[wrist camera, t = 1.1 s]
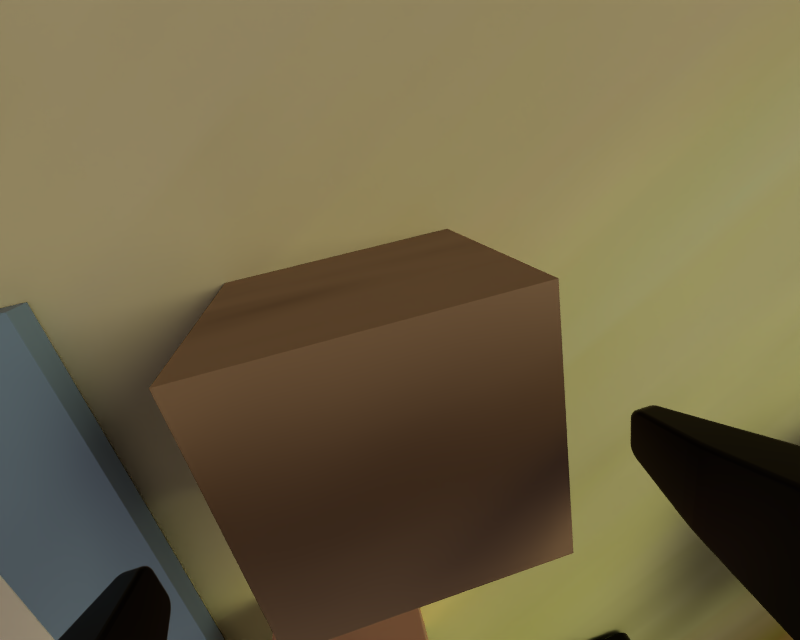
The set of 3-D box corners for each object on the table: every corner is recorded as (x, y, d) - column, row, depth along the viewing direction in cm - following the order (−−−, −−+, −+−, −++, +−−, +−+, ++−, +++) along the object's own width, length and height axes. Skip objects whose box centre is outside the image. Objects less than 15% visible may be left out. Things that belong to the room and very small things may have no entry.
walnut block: (474, 408, 15) (573, 552, 9) (294, 462, 14) (284, 655, 8) (446, 228, 12) (558, 278, 7) (225, 282, 11) (148, 388, 6)
